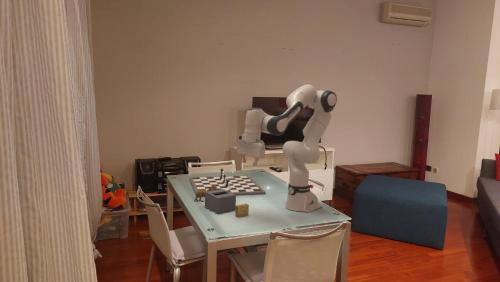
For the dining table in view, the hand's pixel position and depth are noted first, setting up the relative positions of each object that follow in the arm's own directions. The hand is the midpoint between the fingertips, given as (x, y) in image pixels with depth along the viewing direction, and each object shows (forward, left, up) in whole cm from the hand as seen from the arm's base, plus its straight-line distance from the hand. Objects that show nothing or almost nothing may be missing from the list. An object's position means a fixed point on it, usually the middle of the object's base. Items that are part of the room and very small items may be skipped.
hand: (249, 164), depth 192 cm
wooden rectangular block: (+2, -3, -29) cm, 29 cm away
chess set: (-22, -57, -30) cm, 68 cm away
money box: (+6, -19, -29) cm, 35 cm away
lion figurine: (+5, -36, -29) cm, 46 cm away
